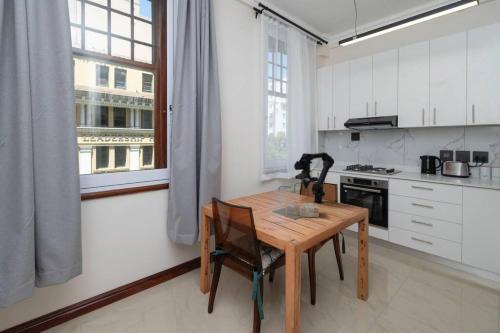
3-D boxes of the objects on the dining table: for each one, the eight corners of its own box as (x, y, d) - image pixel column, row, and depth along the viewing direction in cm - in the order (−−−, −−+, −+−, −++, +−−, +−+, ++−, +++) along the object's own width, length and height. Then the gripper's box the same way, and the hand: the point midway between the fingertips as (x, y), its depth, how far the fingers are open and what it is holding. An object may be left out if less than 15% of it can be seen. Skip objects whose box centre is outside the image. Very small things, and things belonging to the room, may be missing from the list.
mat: (285, 208, 184) (285, 207, 184) (308, 215, 167) (308, 214, 167) (271, 211, 176) (271, 211, 176) (294, 219, 158) (294, 218, 158)
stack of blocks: (285, 210, 176) (286, 216, 164) (286, 202, 175) (286, 207, 163) (316, 212, 173) (318, 217, 161) (316, 203, 173) (319, 208, 161)
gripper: (290, 168, 193) (290, 188, 195) (309, 171, 179) (308, 192, 180) (299, 167, 200) (299, 186, 202) (318, 170, 185) (318, 190, 187)
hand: (305, 188), depth 193 cm, fingers closed
